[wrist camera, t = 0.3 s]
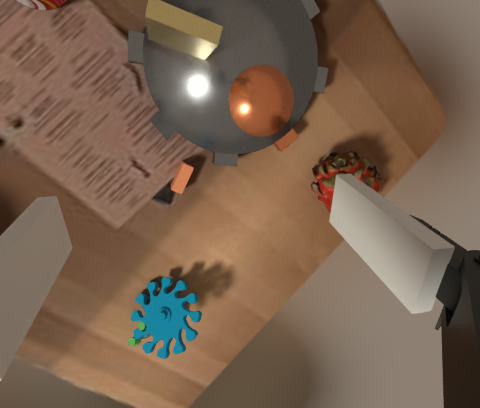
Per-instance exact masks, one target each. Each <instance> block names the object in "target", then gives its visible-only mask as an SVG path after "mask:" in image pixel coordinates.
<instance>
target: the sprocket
mask: <svg viewBox="0 0 480 408" xmlns="http://www.w3.org/2000/svg"><path fill="white" fill-rule="evenodd" d="M319 12H320V10H319V8H318V6H317V4H316V2H315V0H148V4H147V9H146V14H145V20H146V28H145V33H141V32H135V31H130V30H129V41H128V61H129V62H130V63H136V64H142V65H144V71H145V75H146V79H147V84H148V86H149V89H150V92H151V95H152V97H153V99H154V101H155V103H156V105H157V107H158V109H159V110H160V111H159V112H158V113H157V114H156V115H155V116H153V117H152V118H151V119H150V121H151V122H152V123H153V124H154V125H155V127H156V128H157V129H158V130H159V131H160V132H161V134H162V135H163V136H164V137H165V138H166V139H169V138H170V137H171V136H172V135H173V134H175V133H176V132H177V131H178V132H179V133H180V134H181V135H182V136H183V137H185V138H186V139H188V140H189V141H191V142H192V143H194V144H196V145H198V146H200V147H202V148H205V149H207V150H210V151H213V160H212V163H213V164H215V165H227V166H237V158H238V154H245V153H250V152H255V151H258V150H261V149H264V148H266V147H268V146H270V145H272V144H274V145H275V147H276V148H277V150H279V151H283V150H284V149H286V148H287V147H288V146H289V145H290V144H291V143H293V142H294V141H295V140H296V139H297V138H299V137H298V135H297V134H296V132H295V131H294V129H293V127H294V126H295V125H296V124H297V122H298V121H299V119H300V118H301V116H302V115H303V114H304V112H305V110H306V108H307V106H308V104H309V102H310V99H311V97H312V94H313V92H314V93H324V90H325V85H326V79H327V74H328V68H324V67H319V66H318V51H317V42H316V37H315V32H314V29H313V26H312V22H311V20H310V19H312V18H313V17H314V16H315V15H316V14H318V13H319Z"/></svg>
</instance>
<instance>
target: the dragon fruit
mask: <svg viewBox="0 0 480 408" xmlns="http://www.w3.org/2000/svg"><path fill="white" fill-rule="evenodd" d="M323 164H324V165H323ZM323 164H321V165H320V166H319V165H318V164H317V165H315V166H314V167H313V168H312V170H313V174H314V177H315V178H316V179H317V180H318V182H317V183H315V182H313V183H312V184H311V187H312V190H313V191H314V192H315V193H316V194H317V195H318V200H321V201H323V202H324V204H325V205H326V208H327V209H328V211H329V212H330V213H331V207H332V200H333V193H334V187H335V180H336V175H339V174H351V175H353V176H354V177H356V178H357V179H359V180H360V181H361V182H363V183H364V184H366V185H367V186H369V187H370V188H371V189H373V190H374V191H376V192H379V191H382V186H383V184H382V182H381V178H380V177H379V178H378V179H377V178H375V177H376V174H378V175H380V172H379V170H378V169H377V168H376V166H374V167H373V165H372V163H371V161H370V159H368V158H366V159H361V160H360V158H359V157H358V154H357V153H356V152H354V151H351V152H348V153H345V154H344V155H341V154H338V153H336V152H334V153H331V154H330V155H329V156H328V157H327V158H326V159H325V160H324V163H323Z"/></svg>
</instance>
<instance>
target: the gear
mask: <svg viewBox="0 0 480 408" xmlns="http://www.w3.org/2000/svg"><path fill="white" fill-rule="evenodd" d="M172 284H173V279H172V278H168V277H163V278H162V288H161V291H160V293H159V295H158V296H157V295H156V291H157V289H158V282H151V283H148V284H147V289H148V290H149V292H150V303H149V304H148V303H147V295H146V294H145V293H141V294H139V295H138V296H137V298H136V299H135V300H136V302H137V303H139V304H141V305H142V306H143V308H144V310H145V317H143V315H142V313H141V311H139V310H137V311H133V313H132V315H131V320H132V321H142V322H140V323H139V325H138V329H135V330H134V337H132V338H130V339H129V341H128V344H129V345H130V346H134V345H138V344H140V342H141V339H146V338H148V337H150V336H153V341H152V342H147V343H145V344H143V346H142V347H143V349H144V351H145V352H146V353H147V354H148V353H151V352H153V350H154V348H155V346H156V344H157V343H158V342H159V341H160V340H163V341H164V346H163V347H162V348H161V349H159V350H158V352H157V356H158V357H160V358H163V359H165V358H168V357H169V354H170V352H169V346H170V343H171V340H172V339H173V337H174V338H175V339H176V344H175V346H174V348H173V352H174V354H179V353H181V352H184V351H185V350H186V347H185V345H184V343H183V341H182V337H181V332H182V329H183V328H184V329H185V330H186V339H187V340H188V341H192V340H194V339H195V338H196V337H197V335H198V333H197V331H196V330H194V329H192V328H191V327H190V326H189V325H188V323H187V320H186V317H187V315H189V316H190V318H191V320H192V321H193V322H199V321H200V319H201V316H202V313H201V312H200V311H195V312H193V311H190V310H188V309H186V308H185V302H186V301H187V302H189V303H191V304H193V303H197V302H198V297H197V294H196V293H190V294H189V295H188V296H186V297H185V298H179V297H178V295H177V294H178V292H179V291H180V290H186V289H187V288H188V285H187V284H186V282H185V281H183V280H180V281H178V282H177V285H176V287H175V289H174V290H173V291H172V292H170V293H168V292H167V288H168V287H169V286H171V285H172Z"/></svg>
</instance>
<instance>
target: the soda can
mask: <svg viewBox="0 0 480 408" xmlns="http://www.w3.org/2000/svg"><path fill="white" fill-rule="evenodd" d="M16 1H18V2H20V3H22V4H24V5H26V6H28V7H31V8H34V9H38V10H51V9H55V8H57V7H60V6H61V5H63V4H64V3H65V2H66V1H67V0H16Z"/></svg>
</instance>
